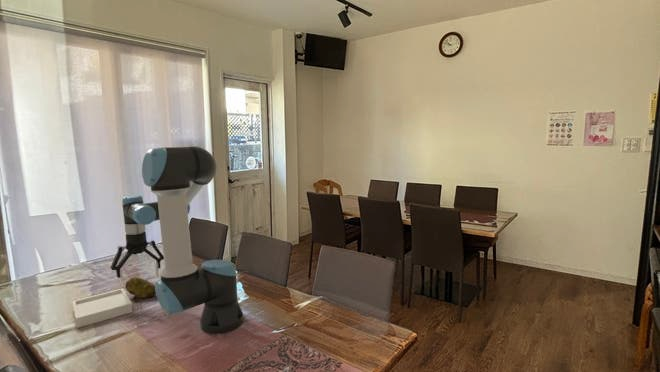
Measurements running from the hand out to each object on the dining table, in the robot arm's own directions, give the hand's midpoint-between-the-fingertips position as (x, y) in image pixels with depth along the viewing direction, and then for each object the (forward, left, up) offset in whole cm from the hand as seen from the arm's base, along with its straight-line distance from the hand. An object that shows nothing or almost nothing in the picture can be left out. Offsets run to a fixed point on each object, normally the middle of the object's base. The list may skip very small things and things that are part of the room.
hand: (140, 280), depth 154 cm
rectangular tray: (-4, +15, -7) cm, 17 cm away
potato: (0, 0, -8) cm, 8 cm away
